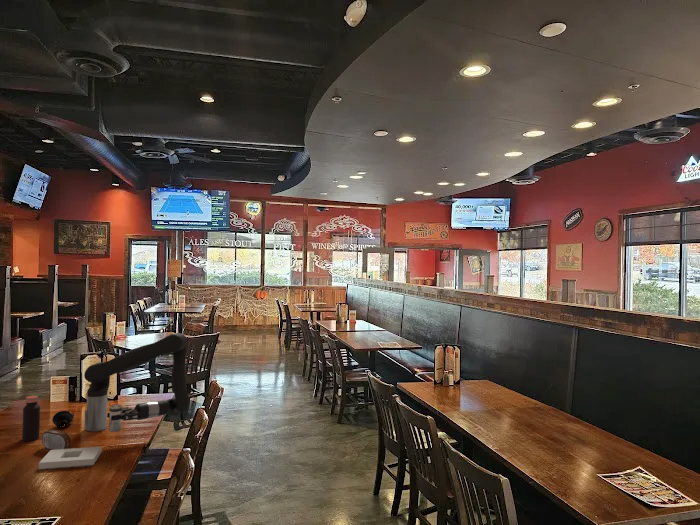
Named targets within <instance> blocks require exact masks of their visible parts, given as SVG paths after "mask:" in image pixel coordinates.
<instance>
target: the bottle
mask: <svg viewBox="0 0 700 525" xmlns="http://www.w3.org/2000/svg"><path fill="white" fill-rule="evenodd" d="M38 402H39V395H29V396H28V395H27V396H26V397H25V404H26V405H25V406H24V407H23V408H22V431H21V432H22V436H21V437H22V438H21V440H22V441H23V442H33V441H36V440H38V439H39V438H40V429H41V428H40V426H41V425H40V422H41V421H40V420H41V406H40V404H38Z"/></svg>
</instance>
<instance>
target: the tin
mask: <svg viewBox="0 0 700 525" xmlns="http://www.w3.org/2000/svg"><path fill="white" fill-rule="evenodd" d="M41 443H42V446H43V447H44V448H45V449H47V450H50V449H51V450H58V449H70V447H71V445H72V444H71V443H72V440H71V437H70V435H69V434H68V433H67V432H66V431H62V430H58V429H53V428H52V429H49V430H46V431H45V432H43V433H42V435H41Z"/></svg>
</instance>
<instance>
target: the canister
mask: <svg viewBox="0 0 700 525" xmlns="http://www.w3.org/2000/svg"><path fill="white" fill-rule="evenodd" d="M122 408H123V405H122V404H113V405H110V406H109V409H108V410H109V412H110V418H109V420H108V421H109V422H108V423H109V424H108V431H109V432H111V433H115V432H116V433H117V432H120V431H121V430H122V420H115V421H112V420H111V416H113V415H119V414H120V415H121V414H122Z"/></svg>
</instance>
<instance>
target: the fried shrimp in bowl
mask: <svg viewBox="0 0 700 525" xmlns="http://www.w3.org/2000/svg"><path fill="white" fill-rule="evenodd" d="M74 418H75V413H72V412H71V411H68V410H61V411H57V412H56V413H55V414H54V415H53V416H52V419H51V420H52V424H54V425H55V426H56V427H57V428H59V429H65V428H66V427H68V426H69V425H70V424H71V423H72V422H73V421H74V420H73V419H74ZM62 424H65V427H60V426H62Z"/></svg>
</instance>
